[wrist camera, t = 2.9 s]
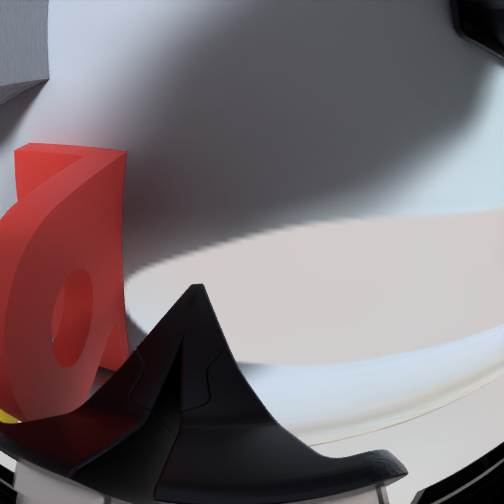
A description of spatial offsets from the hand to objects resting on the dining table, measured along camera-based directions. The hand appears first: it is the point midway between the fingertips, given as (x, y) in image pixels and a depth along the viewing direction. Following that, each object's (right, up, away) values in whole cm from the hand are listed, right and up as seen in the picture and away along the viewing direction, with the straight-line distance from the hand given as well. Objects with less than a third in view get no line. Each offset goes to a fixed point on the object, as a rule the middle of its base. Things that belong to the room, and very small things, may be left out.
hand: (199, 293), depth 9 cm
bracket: (-6, 0, +2) cm, 7 cm away
